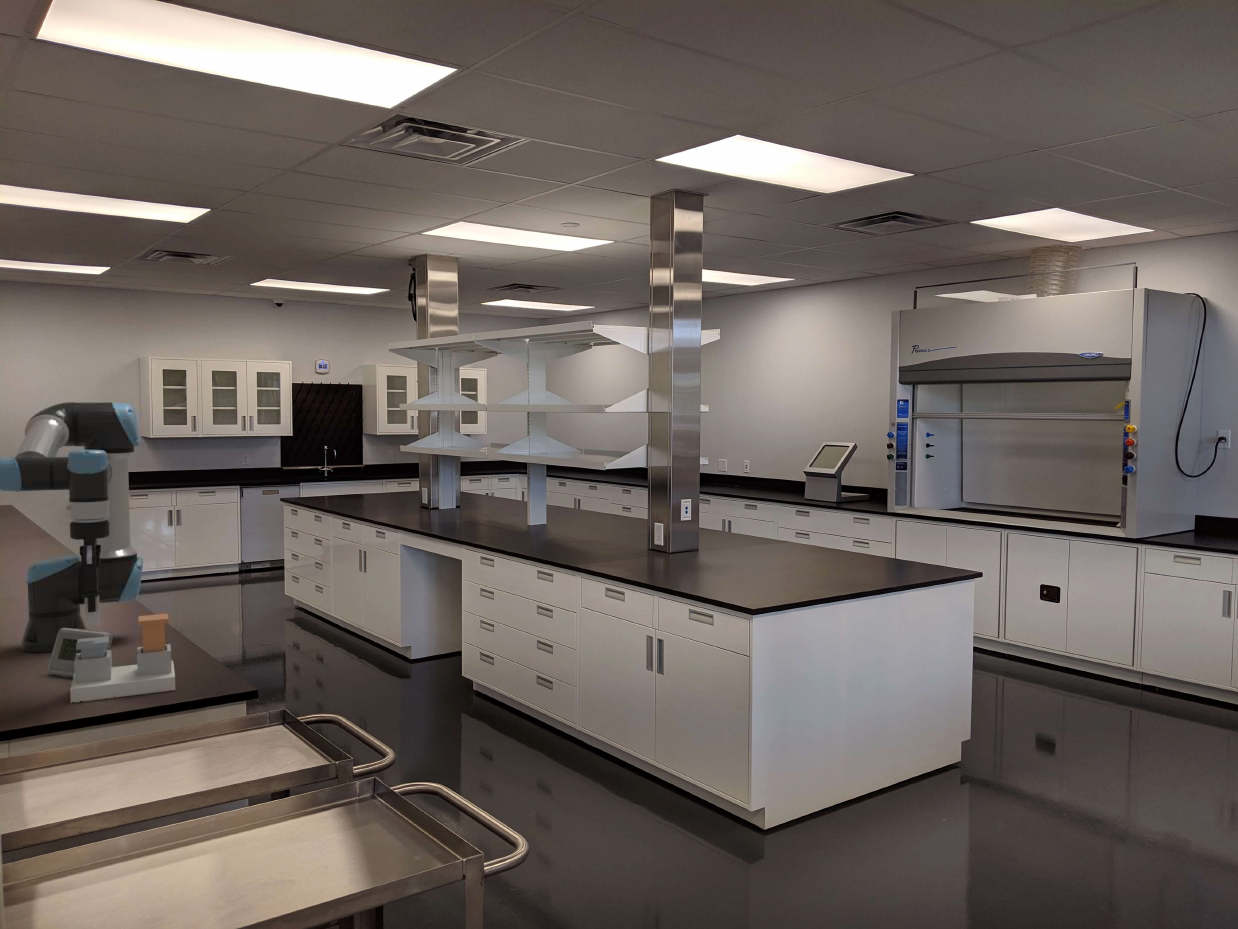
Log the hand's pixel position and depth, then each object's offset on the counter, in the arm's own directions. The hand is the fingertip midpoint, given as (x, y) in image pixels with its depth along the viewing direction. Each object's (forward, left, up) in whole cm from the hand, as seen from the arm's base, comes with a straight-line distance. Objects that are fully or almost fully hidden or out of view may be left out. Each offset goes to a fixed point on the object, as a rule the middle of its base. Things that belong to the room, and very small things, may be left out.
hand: (92, 625), depth 199 cm
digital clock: (-15, -3, -15) cm, 21 cm away
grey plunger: (0, 0, -11) cm, 11 cm away
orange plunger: (0, +12, -7) cm, 14 cm away
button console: (0, +6, -15) cm, 16 cm away
